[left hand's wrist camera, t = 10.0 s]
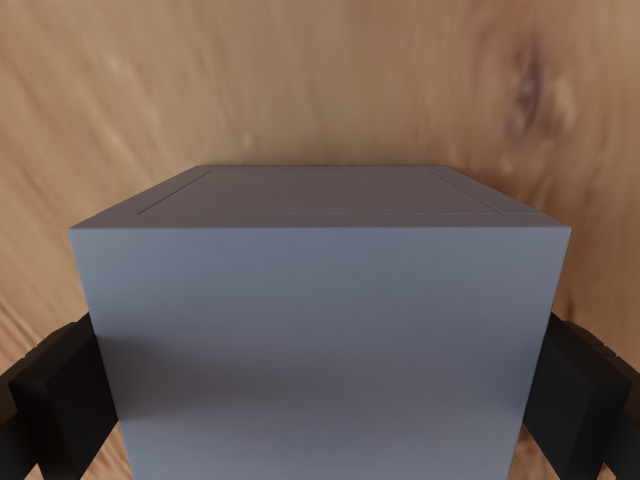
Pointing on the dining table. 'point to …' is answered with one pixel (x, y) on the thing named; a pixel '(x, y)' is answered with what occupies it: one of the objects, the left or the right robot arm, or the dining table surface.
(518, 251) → the cabinet
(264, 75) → the dining table surface
